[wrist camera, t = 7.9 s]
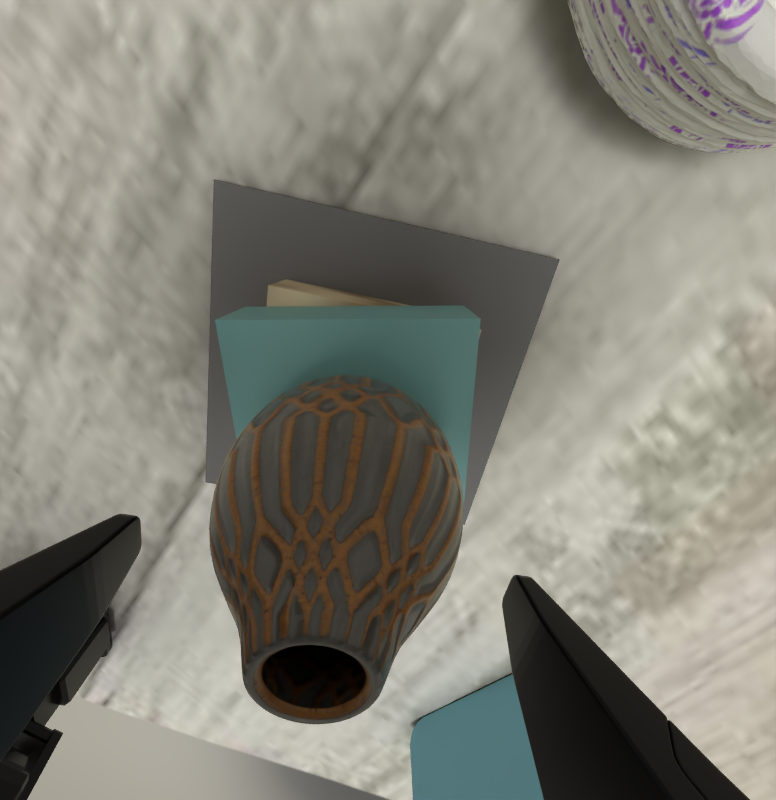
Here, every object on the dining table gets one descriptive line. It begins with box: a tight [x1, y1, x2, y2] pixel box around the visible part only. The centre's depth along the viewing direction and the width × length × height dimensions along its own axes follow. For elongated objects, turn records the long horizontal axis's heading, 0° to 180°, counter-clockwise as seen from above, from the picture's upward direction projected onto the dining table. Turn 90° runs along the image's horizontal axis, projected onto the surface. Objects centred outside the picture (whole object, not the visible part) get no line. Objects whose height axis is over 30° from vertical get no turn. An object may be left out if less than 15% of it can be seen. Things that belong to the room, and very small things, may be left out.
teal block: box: [215, 306, 481, 503], centre depth 16 cm, size 9×9×3 cm
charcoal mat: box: [206, 180, 560, 525], centre depth 20 cm, size 16×16×1 cm
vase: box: [209, 375, 464, 724], centre depth 10 cm, size 7×7×9 cm
